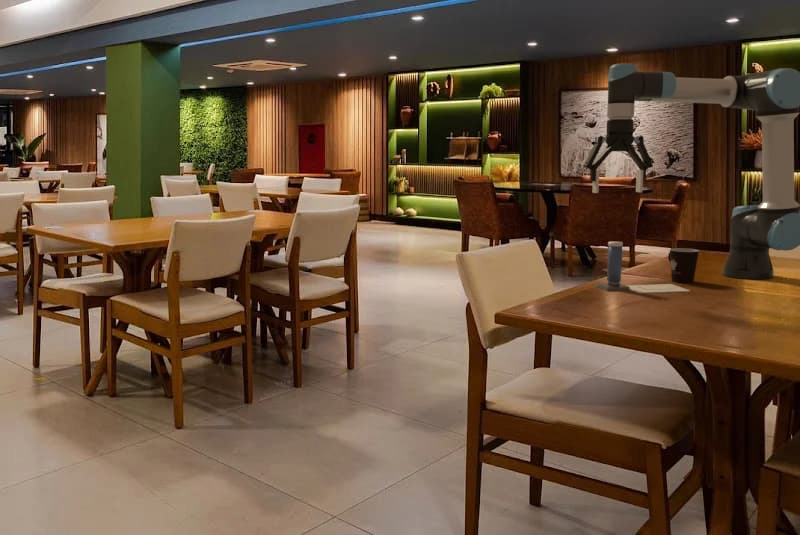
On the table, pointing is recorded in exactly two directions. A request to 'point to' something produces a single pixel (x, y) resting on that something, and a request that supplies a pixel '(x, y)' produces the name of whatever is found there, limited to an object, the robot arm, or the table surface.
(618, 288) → the coaster
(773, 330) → the table surface
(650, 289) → the paper
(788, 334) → the table surface
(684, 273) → the coffee mug
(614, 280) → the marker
